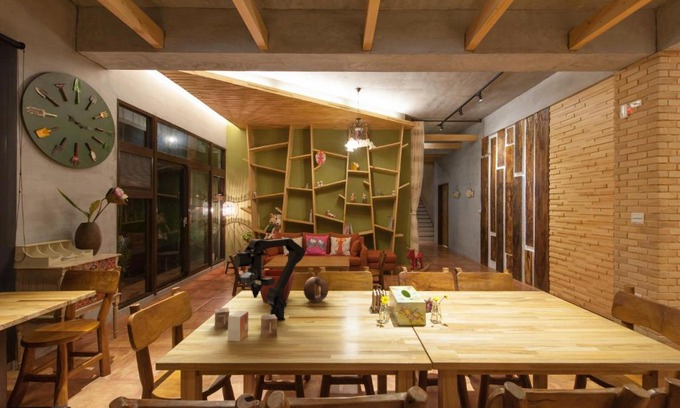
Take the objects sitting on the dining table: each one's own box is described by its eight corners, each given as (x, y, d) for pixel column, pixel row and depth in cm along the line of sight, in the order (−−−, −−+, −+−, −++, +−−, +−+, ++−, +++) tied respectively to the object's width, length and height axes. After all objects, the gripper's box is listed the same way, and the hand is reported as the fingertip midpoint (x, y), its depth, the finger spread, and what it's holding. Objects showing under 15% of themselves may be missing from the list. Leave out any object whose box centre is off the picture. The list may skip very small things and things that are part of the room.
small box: (239, 342, 139) (240, 317, 139) (227, 341, 140) (227, 316, 140) (248, 335, 147) (248, 311, 147) (236, 334, 148) (237, 310, 148)
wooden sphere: (306, 297, 209) (307, 274, 210) (330, 299, 207) (330, 275, 208) (300, 304, 195) (301, 279, 195) (325, 306, 192) (326, 280, 193)
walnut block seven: (227, 324, 160) (228, 307, 160) (228, 328, 154) (229, 311, 154) (214, 325, 158) (215, 308, 158) (215, 330, 152) (215, 312, 152)
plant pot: (289, 305, 192) (289, 276, 192) (256, 304, 192) (257, 275, 193) (294, 296, 211) (294, 270, 212) (264, 296, 212) (264, 269, 212)
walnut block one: (274, 331, 151) (274, 314, 152) (276, 336, 146) (277, 318, 146) (260, 333, 149) (261, 315, 149) (263, 338, 143) (263, 320, 144)
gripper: (229, 265, 157) (228, 299, 157) (260, 269, 149) (259, 304, 149) (245, 262, 167) (244, 293, 167) (275, 266, 159) (275, 298, 159)
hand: (255, 297), depth 160 cm, fingers closed
